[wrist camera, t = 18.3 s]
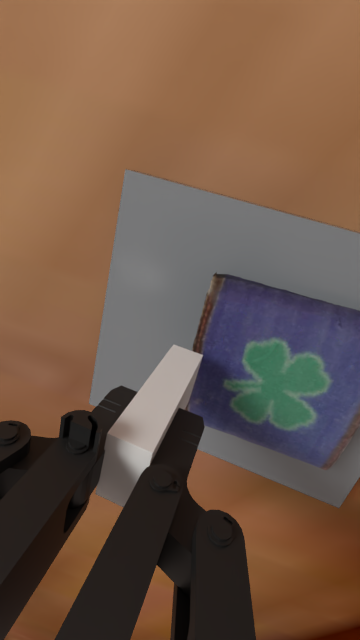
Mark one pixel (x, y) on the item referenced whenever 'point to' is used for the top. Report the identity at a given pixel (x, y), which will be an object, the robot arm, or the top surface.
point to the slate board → (190, 292)
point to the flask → (278, 369)
